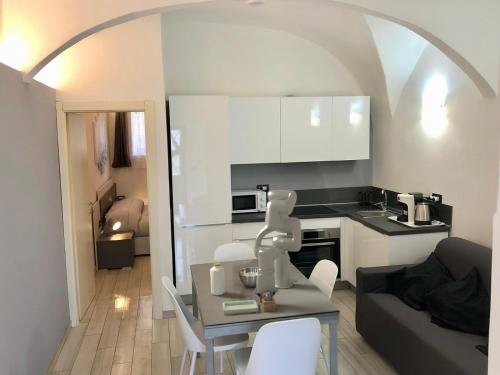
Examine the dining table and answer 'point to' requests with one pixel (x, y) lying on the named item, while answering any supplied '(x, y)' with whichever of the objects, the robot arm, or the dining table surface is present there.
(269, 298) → the steel stake
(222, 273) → the potion bottle
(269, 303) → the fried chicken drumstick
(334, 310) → the dining table surface
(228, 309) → the sage tray
